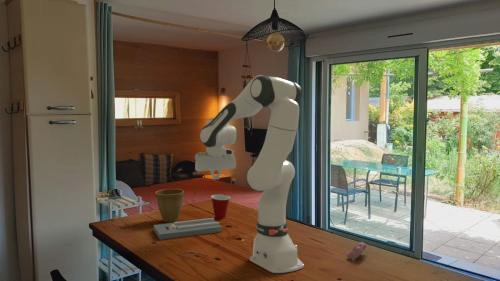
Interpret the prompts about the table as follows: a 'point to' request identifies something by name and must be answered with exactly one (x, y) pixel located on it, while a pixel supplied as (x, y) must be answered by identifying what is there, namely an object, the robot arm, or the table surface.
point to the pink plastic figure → (357, 251)
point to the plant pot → (170, 203)
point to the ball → (171, 227)
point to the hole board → (187, 228)
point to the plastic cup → (220, 205)
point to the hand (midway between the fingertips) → (216, 179)
